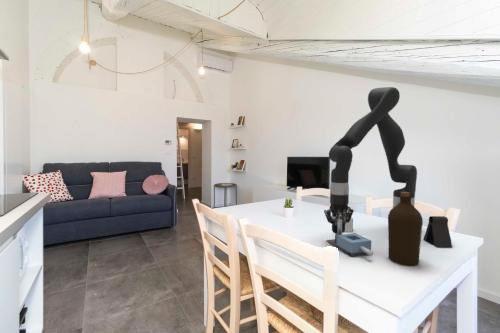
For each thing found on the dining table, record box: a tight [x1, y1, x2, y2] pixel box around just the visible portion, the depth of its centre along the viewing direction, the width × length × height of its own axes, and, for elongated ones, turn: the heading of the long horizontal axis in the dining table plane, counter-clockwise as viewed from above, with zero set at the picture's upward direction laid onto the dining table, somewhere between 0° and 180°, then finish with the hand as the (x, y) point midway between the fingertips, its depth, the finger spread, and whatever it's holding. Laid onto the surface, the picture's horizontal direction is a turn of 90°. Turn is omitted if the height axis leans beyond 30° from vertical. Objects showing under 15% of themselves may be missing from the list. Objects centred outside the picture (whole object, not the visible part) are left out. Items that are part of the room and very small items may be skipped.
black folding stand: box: [422, 215, 453, 249], centre depth 106 cm, size 9×6×12 cm, turn 177°
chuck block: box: [336, 232, 374, 258], centre depth 95 cm, size 9×14×6 cm, turn 16°
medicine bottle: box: [344, 206, 354, 233], centre depth 126 cm, size 7×7×12 cm
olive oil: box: [387, 192, 424, 267], centre depth 89 cm, size 11×11×25 cm
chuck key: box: [334, 213, 343, 243], centre depth 106 cm, size 5×3×13 cm, turn 16°
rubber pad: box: [326, 238, 337, 248], centre depth 106 cm, size 7×7×1 cm
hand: (338, 232), depth 106 cm, fingers closed on chuck key, 3 cm apart
